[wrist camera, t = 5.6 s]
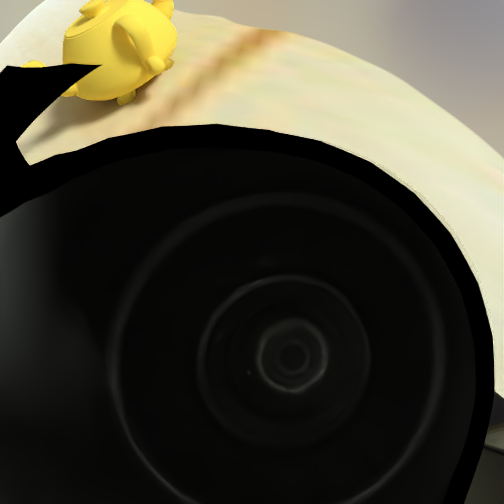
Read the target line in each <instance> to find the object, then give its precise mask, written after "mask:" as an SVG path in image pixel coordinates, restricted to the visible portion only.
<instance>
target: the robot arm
mask: <svg viewBox="0 0 504 504" xmlns="http://www.w3.org/2000/svg"><path fill="white" fill-rule="evenodd" d="M464 504H504V398H503V397H501V396H500V395H499V394H498V393H496V392H495V394H494V401H493V407H492V412H491V417H490V422H489V426H488V431H487V435H486V439H485V443H484V447H483V451H482V454H481V457H480V460H479V463H478V465H477V468H476V471H475V474H474V477H473V480H472V483H471V486H470V488H469V491H468V494H467V497H466V500H465V502H464Z"/></svg>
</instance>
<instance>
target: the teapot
mask: <svg viewBox="0 0 504 504" xmlns="http://www.w3.org/2000/svg"><path fill="white" fill-rule="evenodd" d="M173 10H174V4H173V0H153V3H152V5H151V4H149V3H147V2H145V1H143V0H106V1H103V0H91V1H90V2H88V3H86V4H85V5H84V6H83V7H82V8H81V9H80V10H79V12H80V13H81V14H83V15H82V16H80V17H79V18H78V19H77V20H75V21H74V22H73V23H72V24H71V25H70V26H69V28H68V29H67V30H66V32H65V35H64V41H63V64H69V63H75V64H90V65H101V66H99V67H98V68H96V69H95V70H93V71H92V72H90V73H89V74H87V75H86V76H85V77H83V78H82V79H80V80H79V81H78V82H76V83H75V84H74V85H73V86H71V87H70V88H69V89H68V90H67V91H65V92H64V93H63V94H62V95H61V96H64V97H70V96H74V95H76V96H78V97H80V98H82V99H86V100H110V99H114V98H117V102H118V104H119V105H125V104H127V103H129V102H130V101H132V100H133V99H134V97H135V96H136V91H135V89H137V88H138V87H140V86H141V85H143V84H144V83H146V82H147V81H149V80H150V79H151V78H153V77H154V76H155V75H158V74H160V73H162V72H163V71H166V70H168V69H169V68H171V67H172V66H173V64H174V61H173V60H171V59H169V58H170V57H171V55H172V53H173V51H174V48H175V46H176V43H177V32H176V30H175V28H174V26H173V24H172V23H171V21H170V19H171V17H172V14H173ZM21 67H47V66H46V65H44V64H43V63H42V62H40V61H30V62H28V63H26V64H24V65H22V66H21Z"/></svg>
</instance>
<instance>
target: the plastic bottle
mask: <svg viewBox="0 0 504 504" xmlns="http://www.w3.org/2000/svg"><path fill="white" fill-rule="evenodd" d="M99 66H101V65H90V64H75V63H69V64H63V65H57V66H49V67H15V66H8V65H7V66H6V67H5V68H4V69H3V70H2V71H1V72H0V504H464V502H465V500H466V497H467V494H468V491H469V488H470V486H471V483H472V480H473V477H474V474H475V471H476V468H477V465H478V463H479V460H480V457H481V454H482V451H483V447H484V443H485V439H486V435H487V431H488V426H489V422H490V417H491V412H492V407H493V401H494V394H495V353H494V338H493V326H492V318H491V315H490V311H489V307H488V304H487V300H486V297H485V293H484V290H483V287H482V284H481V281H480V278H479V275H478V272H477V270H476V268H475V266H474V264H473V262H472V261H471V259H470V257H469V255H468V253H467V251H466V250H465V248H464V246H463V244H462V243H461V241H460V239H459V238H458V236H457V234H456V233H455V231H454V229H453V228H452V227H451V226H450V225H449V224H448V222H447V221H446V220H445V219H444V218H443V217H442V215H441V214H440V213H439V212H438V211H437V210H436V209H435V208H434V207H433V205H432V204H431V203H430V202H429V201H428V200H427V199H426V198H425V197H424V196H423V195H422V194H421V193H420V192H419V191H417V190H416V189H415V188H413V187H412V186H410V185H409V184H408V183H406V182H405V181H404V180H402V179H401V178H400V177H398V176H397V175H395V174H394V173H392V172H391V171H390V170H388V169H387V168H385V167H384V166H382V165H380V164H377V163H375V162H373V161H371V160H369V159H366V158H364V157H362V156H360V155H357V154H355V153H353V152H351V151H348V150H346V149H343V148H341V147H338V146H335V145H332V144H329V143H326V142H322V141H318V140H314V139H309V138H304V137H299V136H294V135H289V134H284V133H278V132H274V131H271V130H265V129H255V128H246V127H237V126H229V125H222V124H206V125H190V126H165V127H158V128H154V129H150V130H145V131H141V132H136V133H132V134H127V135H122V136H116V137H111V138H107V139H105V140H102V141H100V142H97V143H95V144H92V145H90V146H87V147H85V148H82V149H79V150H76V151H72V152H68V153H63V154H57V155H54V156H52V157H49V158H47V159H45V160H43V161H40V162H38V163H35V164H33V165H29V164H28V163H27V161H26V160H25V158H24V157H23V155H22V154H21V152H20V150H19V148H18V146H17V143H16V141H17V140H18V138H19V137H20V136H21V135H22V134H23V132H24V131H25V130H26V129H27V128H28V127H29V125H30V124H31V123H32V122H33V121H34V120H35V119H36V118H37V117H38V116H39V115H40V114H41V113H42V112H43V111H44V110H45V109H46V108H47V107H48V106H49V105H51V104H52V103H53V102H54V101H55V100H56V99H57V98H58V97H59V96H61V95H62V94H63V93H64V92H65V91H67V90H68V89H69V88H70V87H71V86H73V85H74V84H75V83H76V82H78V81H79V80H80V79H82V78H83V77H85V76H86V75H87V74H89V73H90V72H92V71H93V70H95V69H96V68H98V67H99Z"/></svg>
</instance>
